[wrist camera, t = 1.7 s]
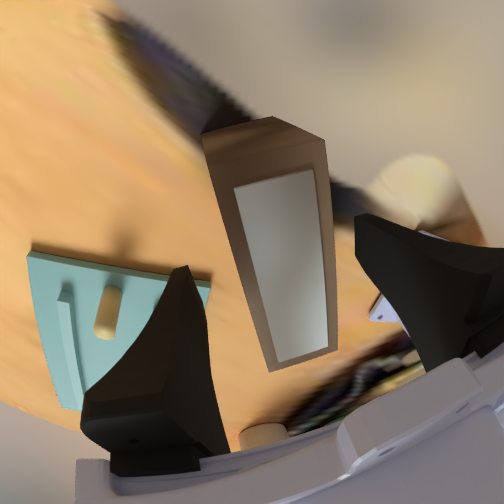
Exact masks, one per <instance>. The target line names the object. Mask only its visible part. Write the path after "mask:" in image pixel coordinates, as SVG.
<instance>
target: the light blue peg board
mask: <svg viewBox="0 0 504 504" xmlns="http://www.w3.org/2000/svg"><path fill="white" fill-rule="evenodd" d="M27 264H28V272H29V280H30V287H31V293H32V299H33V305H34V310H35V316H36V320H37V325H38V330H39V334H40V338H41V342H42V346H43V350H44V354H45V358H46V361H47V365H48V368H49V372H50V375H51V378H52V381H53V385H54V388H55V391H56V393H57V396H58V399H59V402H60V405H61V407H62V408H66V409H70V410H75V411H80V412H82V405H83V399H84V393H85V392H86V391H87V390H88V389H89V388H91V387H92V386H93V385H94V384H95V383H96V382H97V381H99V380H100V379H101V378H102V377H103V376H104V375H105V374H106V373H107V372H108V371H109V370H110V369H111V368H112V367H113V366H114V365H115V364H116V363H117V362H118V361H119V360H120V358H121V357H122V356H123V355H124V354H125V352H126V351H127V350H128V349H129V347H130V346H131V345H132V344H133V342H134V341H135V340H136V338H137V337H138V335H139V334H140V332H141V331H142V330H143V328H144V326H145V325H146V323H147V322H148V320H149V318H150V316H151V314H152V312H153V311H154V309H155V307H156V305H157V303H158V301H159V299H160V297H161V295H162V293H163V291H164V288H165V286H166V284H167V282H168V280H169V277H170V276H169V275H163V274H156V273H150V272H144V271H138V270H132V269H126V268H120V267H115V266H109V265H103V264H98V263H92V262H87V261H81V260H76V259H71V258H65V257H60V256H55V255H50V254H45V253H40V252H35V251H30V252H29V253H28V255H27ZM194 282H195V284H196V287H197V289H198V291H199V294H200V296H201V298H202V301H203V305H204V309H205V306H206V302H207V299H208V295H209V292H210V289H211V287H210V282H208V281H202V280H195V279H194Z"/></svg>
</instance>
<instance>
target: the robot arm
mask: <svg viewBox="0 0 504 504" xmlns="http://www.w3.org/2000/svg"><path fill="white" fill-rule="evenodd" d="M354 226H355V256H356V258H357V260H358V261H359V263H360V265H361V267H362V268H363V270H364V271H365V273H366V274H367V276H368V277H369V278H370V279H371V281H372V282H373V283H374V284H375V286H376V287H377V288H378V289H379V291H380V292H381V293H382V294H381V296H380V297H379V299H378V301H377V302H376V304H375V305H374V307H373V309H372V310H371V312H370V313H369V316H368V317H369V319H370V320H371V321H377V322H399V323H400V324H401V326H402V327H403V328H404V330H405V331H406V332H407V334H408V335H409V337H410V338H411V340H412V342H413V344H414V346H415V348H416V350H417V352H418V354H419V356H420V359H421V361H422V363H423V366H424V368H425V371H426V374H424V375H422V376H420V377H418V378H416V379H414V380H413V381H411V382H409V383H407V384H405V385H403V386H401V387H399V388H397V389H394V390H392V391H390V392H388V393H386V394H384V395H382V396H380V397H377V398H375V399H373V400H371V401H370V402H368V403H366V404H364V405H362V406H360V407H358V408H357V409H356V410H354V411H353V412H352V413H350V414H349V415H348V416H346V417H345V418H344V419H343V420H341V421H338V422H336V423H333V424H330V425H328V426H325V427H322V428H319V429H316V430H313V431H310V432H307V433H304V434H301V435H298V436H295V437H292V438H288V439H285V440H281V441H278V442H274V443H271V444H267V445H263V446H259V447H255V448H251V449H247V450H243V451H238V452H233V453H231V451H230V448H229V445H228V441H227V438H226V434H225V431H224V427H223V423H222V419H221V416H220V412H219V407H218V403H217V399H216V395H215V390H214V385H213V380H212V375H211V368H210V356H209V343H208V329H207V320H206V315H205V310H204V305H203V301H202V298H201V296H200V294H199V291H198V289H197V287H196V284H195V282H194V279H193V277H192V275H191V272H190V270H189V267H188V265H186V266H183V267H179V268H176V269H173V271H172V273H171V275H170V277H169V280H168V282H167V284H166V286H165V288H164V291H163V293H162V295H161V297H160V299H159V301H158V303H157V305H156V307H155V309H154V311H153V312H152V314H151V316H150V318H149V320H148V322H147V323H146V325H145V326H144V328H143V330H142V331H141V332H140V334H139V335H138V337H137V338H136V340H135V341H134V342H133V344H132V345H131V346H130V347H129V349H128V350H127V351H126V352H125V354H124V355H123V356H122V357H121V358H120V360H119V361H118V362H117V363H116V364H115V365H114V366H113V367H112V368H111V369H110V370H109V371H108V372H107V373H106V374H105V375H104V376H103V377H102V378H101V379H100V380H99V381H97V382H96V383H95V384H94V385H93V386H92V387H91V388H89V389H88V390H87V391H86V392H85V393H84V399H83V405H82V413H81V422H80V429H81V430H82V432H83V433H84V434H85V435H86V436H87V437H88V438H89V439H90V440H92V441H93V442H95V443H96V444H98V445H99V446H101V447H102V448H104V449H106V450H107V451H108V452H110V453H111V454H110V461H109V460H105V459H77V460H76V476H75V504H504V248H489V247H480V246H472V245H466V244H460V243H455V242H452V241H449V240H447V239H444V238H442V237H439V236H436V235H434V234H431V233H428V232H425V231H423V230H420V231H418V232H417V231H414V230H411V229H409V228H406V227H403V226H401V225H398V224H396V223H393V222H390V221H388V220H385V219H383V218H380V217H377V216H374V215H371V214H368V213H365V214H362V215H358V216H355V217H354Z"/></svg>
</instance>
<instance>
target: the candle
mask: <svg viewBox="0 0 504 504" xmlns="http://www.w3.org/2000/svg"><path fill="white" fill-rule="evenodd" d="M288 438H289V437H288V434H287V431H286V428H285V427H284V425H282V424H279V423H266V424H260V425H256V426H253V427H250V428H248V429H246V430H244V431H243V432H241V433H240V435H239V443H240V448H241V451H243V450H247V449H251V448H255V447H259V446H263V445H267V444H271V443H274V442H278V441H281V440H285V439H288Z"/></svg>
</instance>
